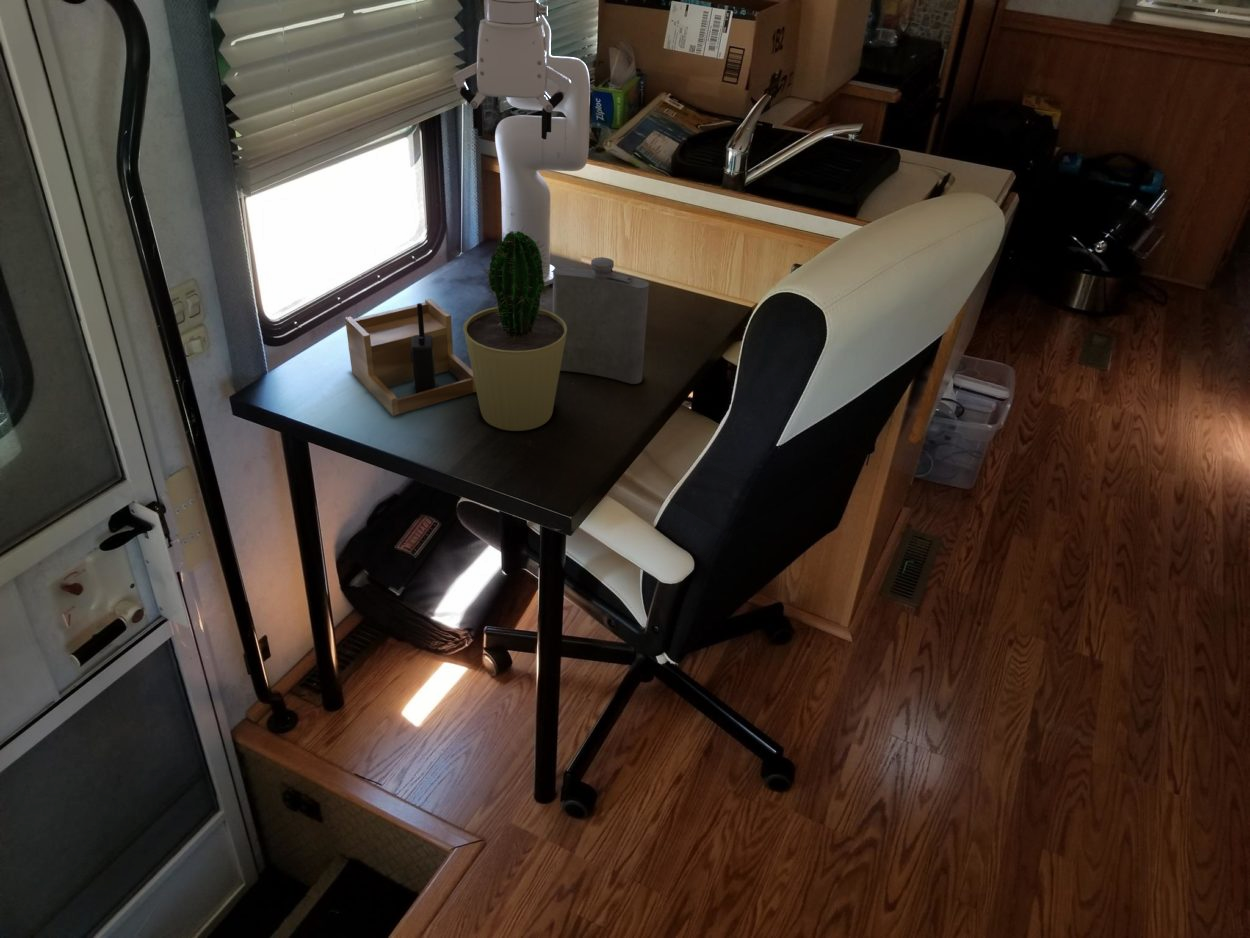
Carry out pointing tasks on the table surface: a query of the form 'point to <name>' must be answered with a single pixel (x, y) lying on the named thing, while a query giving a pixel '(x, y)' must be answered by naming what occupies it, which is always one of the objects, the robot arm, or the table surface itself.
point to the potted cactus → (516, 340)
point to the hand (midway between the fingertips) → (512, 135)
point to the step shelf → (404, 355)
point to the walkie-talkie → (422, 357)
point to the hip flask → (602, 320)
